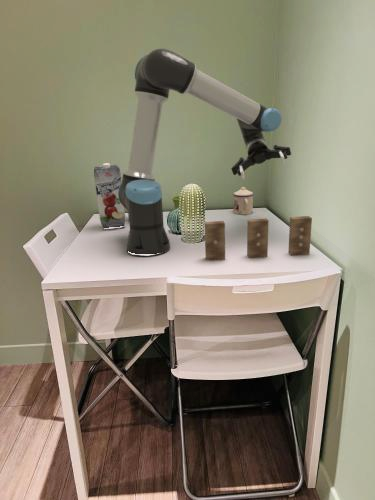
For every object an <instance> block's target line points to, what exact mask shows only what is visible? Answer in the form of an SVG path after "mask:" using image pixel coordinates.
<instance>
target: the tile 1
mask: <svg viewBox="0 0 375 500" xmlns="http://www.w3.org/2000/svg"><path fill="white" fill-rule="evenodd" d="M204 246H205V247H204V249H205V260H210V261H225V260H226V222H225V221H224V220H217V221H214V220H213V221H204Z"/></svg>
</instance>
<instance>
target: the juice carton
mask: <svg viewBox="0 0 375 500" xmlns="http://www.w3.org/2000/svg"><path fill="white" fill-rule="evenodd" d="M93 176H94V177H93V178H94V185H95V194H96V199H97V209H98V215H99V221H100V224H101V227H102V229H103V228H109V227H120V226H124V227H125V224H126V212H125V208H124V207H123V205H122V204H121V202H120V200H119V197H118V190H119V187H120V185H121V183H122V176H121V170H120V167H119V166H118V165H117V164H112V165H111V163H108V162H105V163H103V164H102V165H100V166H99V165H97V166H95V167H94V169H93Z"/></svg>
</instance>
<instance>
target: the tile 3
mask: <svg viewBox="0 0 375 500" xmlns="http://www.w3.org/2000/svg"><path fill="white" fill-rule="evenodd" d="M312 219H313V218H312V217H311V216H310V215H305V216H304V215H303V216H290V217H289V234H288V236H289V237H288V254H289V256H305V255H306V256H307V255H310V252H311V251H310V249H311V237H312Z"/></svg>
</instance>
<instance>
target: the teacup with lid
mask: <svg viewBox="0 0 375 500" xmlns="http://www.w3.org/2000/svg"><path fill="white" fill-rule="evenodd" d="M246 188H247V187H245V186H241V187H240V189H239V190H237V191H235V192H233V194H232V195H233V213H234V214H236V215H251V214H252V213H253V204H254V202H253V199H254V196H253V195H254V192H253V191H250V190H248V189H246Z"/></svg>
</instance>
